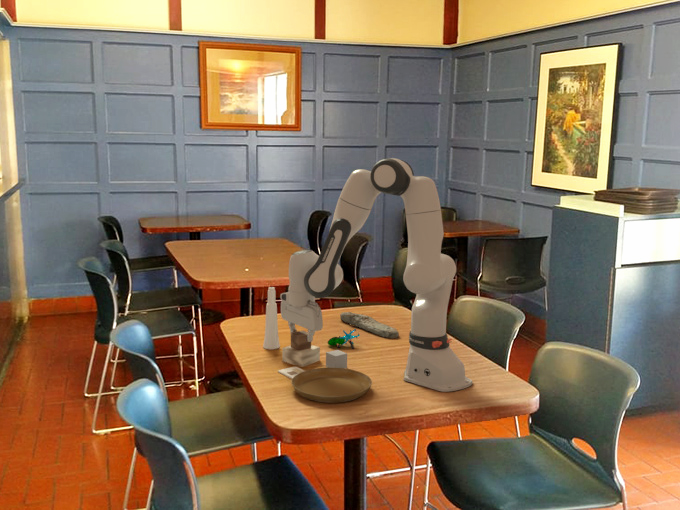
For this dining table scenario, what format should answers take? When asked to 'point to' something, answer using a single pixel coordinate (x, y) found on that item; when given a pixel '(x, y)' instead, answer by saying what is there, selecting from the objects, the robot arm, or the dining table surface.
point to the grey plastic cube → (336, 359)
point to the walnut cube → (300, 340)
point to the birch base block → (301, 355)
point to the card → (291, 371)
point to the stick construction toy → (343, 339)
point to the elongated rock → (369, 324)
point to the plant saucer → (331, 384)
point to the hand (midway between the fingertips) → (301, 337)
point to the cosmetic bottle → (271, 322)
